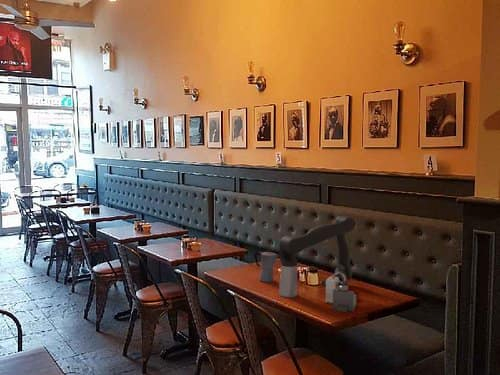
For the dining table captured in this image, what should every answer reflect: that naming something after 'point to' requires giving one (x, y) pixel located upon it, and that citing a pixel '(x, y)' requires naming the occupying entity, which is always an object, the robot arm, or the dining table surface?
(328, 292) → the block
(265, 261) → the moka pot
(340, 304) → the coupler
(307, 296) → the dining table surface
